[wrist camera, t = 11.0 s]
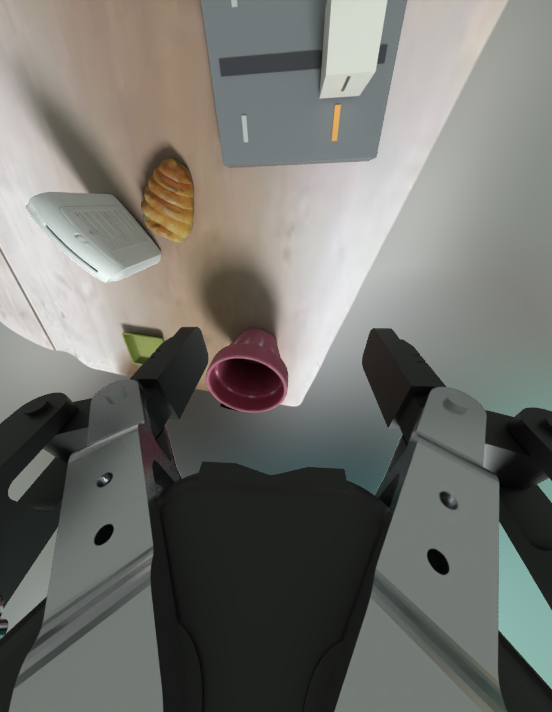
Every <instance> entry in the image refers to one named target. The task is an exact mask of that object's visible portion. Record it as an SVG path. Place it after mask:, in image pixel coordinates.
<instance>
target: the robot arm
mask: <svg viewBox="0 0 552 712" xmlns="http://www.w3.org/2000/svg"><path fill="white" fill-rule="evenodd" d="M207 364H208V352H207V349H206V345H205V342H204V339H203V335H202V332H201V330H200V328H198V327H181V328H180V329H179V330H178V332H177V333H176V334H175V335H174V336H173V337H171V338H169V339H168V340H166V341H165V342H163V343H162V344H161V345H160V346H159V347H158V348H157V349H156V350H155V352H154V353H153V354H152V355H151V356H150V358H148V359H147V360H146V361H145V363H144V364H143V365H142V366H141V367H140V368H139V369H138V370H137V372H136V373H135V374H134V375H133V376H132V377H131V378H130V379H126V380H120V381H116V382H114V383H111V384H109V385H107V386H105V387H104V388H102V389H101V390H100V391H98V392H97V393H96V394H95V396H94V397H93V398H91V399H86V400H81V401H76V402H72V401H71V400H70V399H69V398H68V397H67V396H66V395H65V394H63V393H51V394H47V395H44V396H41V397H38V398H36V399H34V400H32V401H30V402H28V403H26V404H25V405H23V406H22V407H20V408H19V409H18V410H17V411H15V412H14V413H13V414H12V415H10V417H8V418H7V419H5V420H4V421H3V422H2V423H1V424H0V617H1V614H2V610H3V608H4V607H5V605H6V604H7V602H8V601H9V599H10V598H11V596H12V595H13V593H14V592H15V590H16V589H17V587H18V586H19V584H20V583H21V581H22V580H23V578H24V577H25V575H26V574H27V572H28V571H29V569H30V567H31V566H32V565H33V563H34V562H35V560H36V559H37V557H38V556H39V554H40V553H41V551H42V550H43V548H44V547H45V545H46V544H47V542H48V541H49V539H50V538H51V536H52V535H53V533H54V532H55V530H56V529H57V527H58V531H57V537H56V544H55V550H54V556H53V562H52V569H51V576H50V582H49V588H48V594H47V597H46V598H45V599H44V600H43V601H41V603H39V604H38V605H37V606H36V607H35V608H34V609H33V610H32V611H31V612H29V613H28V614H27V615H26V616H25V617H24V618H23V619H22V620H21V621H20V622H19V623H17V624H16V625H15V626H14V627H13V628H12V629H11V630H10V631H9V632H8V633H6V632H7V629H8V621H7V620H6V619H0V712H552V689H551V688H550V687H549V686H548V685H547V684H546V682H544V680H543V679H542V678H541V677H540V676H539V675H538V674H537V672H536V671H535V670H534V669H533V668H532V667H531V666H530V665H529V664H528V663H527V661H526V660H525V659H524V658H523V657H522V656H521V655H520V654H519V652H518V651H517V650H516V649H515V648H514V647H513V646H512V645H511V643H510V642H509V641H508V640H507V639H506V638H505V637H504V636H503V635H502V634H501V632H500V631H499V630H498V590H499V589H498V588H499V586H498V585H499V522H500V523H501V525H502V526H503V528H504V530H505V532H506V533H507V535H508V537H509V538H510V540H511V542H512V543H513V545H514V547H515V549H516V550H517V552H518V554H519V555H520V557H521V559H522V560H523V562H524V564H525V565H526V567H527V569H528V570H529V572H530V574H531V576H532V577H533V579H534V581H535V582H536V584H537V586H538V587H539V589H540V591H541V593H542V594H543V596H544V598H545V599H546V601H547V603H548V604H549V606H550V608H551V609H552V503H551V501H550V500H549V499H548V498H547V496H546V495H545V494H544V493H543V492H542V490H541V489H540V488H539V486H538V485H537V484H538V483H540V482H542V481H544V480H546V479H548V478H550V479H551V480H552V411H548V410H545V409H540V408H525V409H523V410H522V411H521V412H520V413H519V414H517V415H516V416H515V417H511V416H507V415H503V414H499V413H495V412H491V411H487V410H485V409H484V408H483V406H482V405H481V404H480V403H479V402H478V401H477V400H476V399H474V398H473V397H471V396H470V395H468V394H466V393H464V392H462V391H460V390H457V389H454V388H449V387H446V386H445V385H444V383H443V382H442V381H441V380H440V378H439V377H438V376H437V375H436V374H435V372H434V371H433V370H432V369H431V367H429V365H428V364H427V363H425V360H424V359H423V358H422V357H421V356H420V354H419V353H418V351H417V350H416V349H415V348H414V347H413V346H412V345H410V344H409V343H407V342H406V341H404V340H400V339H399V338H398V336H397V335H396V334H395V332H394V331H393V330H392V329H388V328H387V329H386V328H385V329H384V328H373V329H372V330H371V331H370V334H369V337H368V340H367V344H366V347H365V350H364V354H363V358H362V365H363V369H364V371H365V374H366V376H367V378H368V381H369V383H370V386H371V388H372V391H373V393H374V395H375V398H376V400H377V403H378V405H379V407H380V410H381V412H382V415H383V417H384V419H385V422H386V424H387V427H388V428H394V429H395V428H396V429H401V431H402V433H403V435H402V436H401V438H400V440H399V442H398V445H397V447H396V450H395V452H394V454H393V457H392V459H391V462H390V464H389V467H388V469H387V472H386V474H385V477H384V478H383V481H382V482H381V484H380V486H379V488H378V490H377V492H376V494H375V496H374V495H373V494H372V493H370V492H369V491H367V490H366V489H364V488H362V487H361V486H359V485H357V484H355V483H353V482H350V481H347V480H346V476H345V470H344V469H334V468H315V467H307V468H302V469H298V470H294V471H289V472H285V473H281V474H276V475H267V474H264V473H262V472H259V471H256V470H253V469H250V468H248V467H244V466H242V465H239V464H236V463H219V462H218V463H217V462H202V465H201V467H200V470H199V473H195V474H193V475H190V476H187V477H185V478H183V479H182V477H181V475H180V473H179V471H178V468H177V466H176V462H175V458H174V454H173V451H172V447H171V443H170V439H169V435H168V431H167V428H166V426H165V424H166V422H167V420H168V419H180V417H181V415H182V413H183V411H184V409H185V407H186V405H187V404H188V402H189V400H190V398H191V396H192V394H193V392H194V390H195V388H196V386H197V384H198V382H199V380H200V378H201V376H202V374H203V372H204V370H205V368H206V366H207ZM42 449H45V450H46V451H48V452H49V453H51V454H52V455H54V456H55V459H54V460H53V461H52V462H51V463H50V464H49V466H48V467H47V468H46V469H45V470H44V471H43V473H42V474H41V475H40V476H39V477H38V478H37V479H36V481H35V482H34V483H33V484H32V485H31V487H30V488H29V489H28V490H27V491H26V492H25V494H24V495H23V496H22V497H21V498H20V499H19V501H18V502H16V501H14V500H11V499H10V498H9V496H8V489H9V486H10V484H11V483H12V481H13V480H14V479H15V478H16V477H17V476H18V475H19V473H20V472H21V471H22V470H23V469H24V468H25V467H26V466H27V465H28V464H29V463H30V462H31V461H32V460H33V459H34V457H35V456H36V455H37V454H38V453H39V452H40V451H41V450H42Z"/></svg>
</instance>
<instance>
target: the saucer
mask: <svg viewBox="0 0 552 712" xmlns="http://www.w3.org/2000/svg"><path fill="white" fill-rule="evenodd" d="M122 335H123V338H124V341H125V343H126V346H127V349H128V351H129V354H130V357H131V359H132V362H133V363H135V364H141V365H143V364H144V363H145V361H146V360H147V359H148V358H150V356H151V355H152V354H153V353H154V352H155V350H156V349H157V348H158V347H159V346H160V345H161V344H162V343H163V342H164V341H163V338H159V337H153V336H146V335H140V334H134V333H122Z"/></svg>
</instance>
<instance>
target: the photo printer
mask: <svg viewBox="0 0 552 712" xmlns="http://www.w3.org/2000/svg"><path fill="white" fill-rule="evenodd" d="M26 209H27V211H28V212H29V214H30V215H31V217H32V218H33V220H34V221H35V222H36V224H37V225H38V226H39V227H40V229H41V230H42V231H43V232H44V233H45V234H46V235H47V237H48V238H49V239H50V240H51V241H52V242H53V243H54V244H55V245H56V246H57V247H58V248H59V249H60V250H61V251H62V252H64V253H65V254H66V255H67V256H68V257H69V258H70V259H72V260H73V261H74V262H75V263H76V264H78V265H79V266H80V267H81V268H83V269H84V270H86V271H87V272H88V273H90V274H91V275H93V276H94V277H96V278H97V279H99V280H101V281H103V282H105V283H111V282H113V281H119V280H121V279H124V278H126V277H128V276H130V275H132V274H135V273H137V272H139V271H141V270H144V269H146V268H148V267H150V266H152V265H155V264H157V263H158V262H159V261H160V259H161V252H160V250H159V248H158V247H157V246H156V244H155V243H154V242H153V241H152V239H151V238H150V237H149V236H148V235H147V233H146V232H145V231H144V230H143V228H142V227H141V226H140V225H139V224H138V222H137V221H136V220H135V219H134V218H133V216H132V215H131V214H130V213H129V212H128V211H127V209H126V208H125V207H124V206H123V205H122V204H121V203H120V202H119V201H118V200H117V199H116V198H115V197H114V196H113V195H111V194H89V193H61V192H47V193H42V194H39V195H36V196H34V197H32V198H30V200H29V204H28V205H27V206H26Z"/></svg>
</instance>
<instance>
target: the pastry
mask: <svg viewBox="0 0 552 712" xmlns="http://www.w3.org/2000/svg"><path fill="white" fill-rule="evenodd" d="M144 197H145V200H143V201H142V202H141V208H142V210H143V212H144V215H143V217H144V221H145V224H146V226H147V227H148V228H150V229H151V230H152V231H154V232H155V233H157V234H158V235H160V236H162V237H165V238H167V239H169V240H172V241H175V242H183V241H184V240H185V239H186V238H187V236H188V235H189V234H190V232H191V229H192V225H193V216H194V186H193V182H192V177H191V175H190V173H189V171H188V170H187V168H185V167H184V166H183V165H182V164H180V163H178V162H176V161H175V160H174V159H171V158H169V159H166V160H162V161H161V163H160V165H159V166H158V167H157V168H156V169H154V170H153V175H152V176H151V177H150V178H149V180H148V185H147V186H146V187H145V192H144Z"/></svg>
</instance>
